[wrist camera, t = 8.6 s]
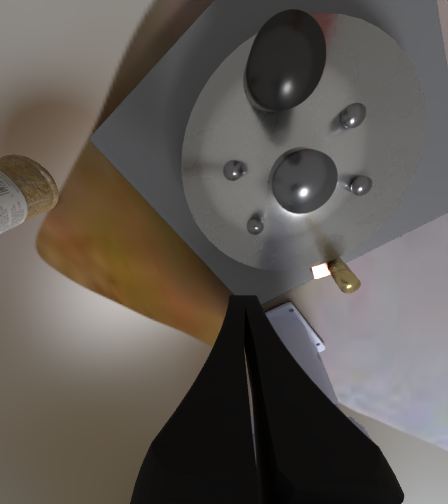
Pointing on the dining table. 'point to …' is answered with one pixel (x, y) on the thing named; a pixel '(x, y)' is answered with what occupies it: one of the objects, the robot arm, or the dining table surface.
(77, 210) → the dining table surface
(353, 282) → the brass dowel
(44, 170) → the sprinkles bottle
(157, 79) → the charcoal board
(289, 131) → the flange plate
